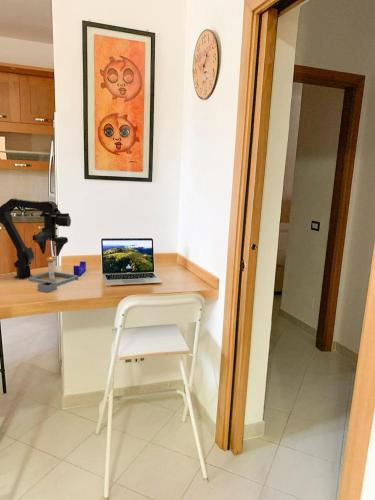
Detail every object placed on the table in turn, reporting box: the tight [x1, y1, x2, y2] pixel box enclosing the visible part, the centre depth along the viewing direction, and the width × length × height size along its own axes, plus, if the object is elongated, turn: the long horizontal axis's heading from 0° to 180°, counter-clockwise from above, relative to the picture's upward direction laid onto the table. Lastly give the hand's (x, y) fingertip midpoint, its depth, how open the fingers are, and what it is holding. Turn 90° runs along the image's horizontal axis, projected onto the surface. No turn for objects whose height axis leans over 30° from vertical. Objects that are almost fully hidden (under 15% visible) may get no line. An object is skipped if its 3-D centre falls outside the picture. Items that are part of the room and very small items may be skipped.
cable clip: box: [73, 260, 87, 278], centre depth 213 cm, size 12×4×6 cm, turn 177°
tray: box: [28, 271, 79, 287], centre depth 194 cm, size 18×16×3 cm
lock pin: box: [45, 256, 56, 282], centre depth 189 cm, size 4×4×14 cm
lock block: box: [37, 280, 58, 293], centre depth 177 cm, size 6×6×4 cm
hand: (50, 254), depth 198 cm, fingers open, 9 cm apart
